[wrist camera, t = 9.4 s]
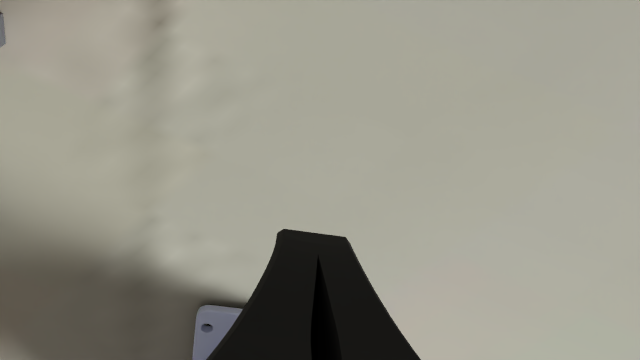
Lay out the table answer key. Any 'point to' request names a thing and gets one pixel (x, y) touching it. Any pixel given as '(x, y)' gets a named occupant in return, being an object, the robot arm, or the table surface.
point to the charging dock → (2, 31)
